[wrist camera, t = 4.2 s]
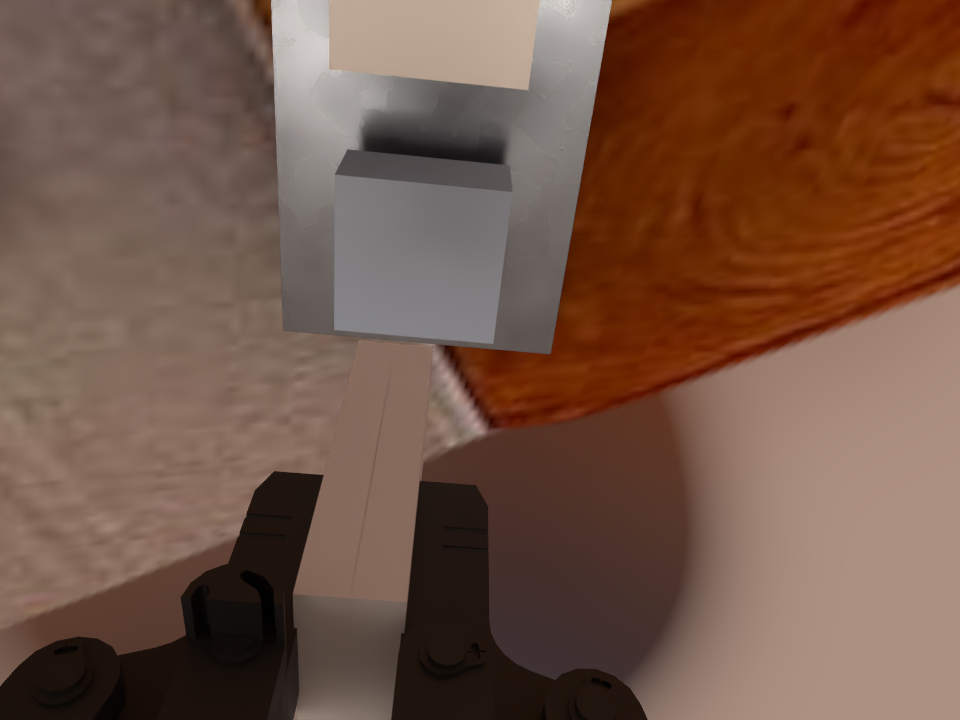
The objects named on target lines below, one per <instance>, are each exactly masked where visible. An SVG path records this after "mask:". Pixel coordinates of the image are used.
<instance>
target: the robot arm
mask: <svg viewBox="0 0 960 720" xmlns="http://www.w3.org/2000/svg"><path fill="white" fill-rule="evenodd" d="M432 349H433V347H431V346H420V345H408V344H397V343H386V342H374V341H363V340H359V342H358V346H357V350H356V354H355V357H354V361H353V365H352V369H351V373H350V377H349V380H348V384H347V388H346V392H345V396H344V400H343V403H342V407H341V411H340V415H339V419H338V423H337V426H336V430H335V434H334V438H333V442H332V446H331V449H330V453H329V457H328V461H327V465H326V469H325V472H324V475H315V474H302V473H289V472H277V471H274V472H273V473H272V474H271V475H270V476H269V477H268V478H267V479H266V480H265V481H264V482H263V483H262V484H261V485H260V486H259V487H258V488H257V489H256V490H255V492H254V495H253V497H252V500H251V503H250V506H249V508H248V511H247V516H246V518H245V519H244V522H243V525H242V527H241V530H240V535H239V537H238V538H237V541H236V544H235V547H234V549H233V552H232V555H231V558H230V560H229V563H228V564H225V565H222V566H219V567H217V568H214V569H211V570H208V571H206V572H205V573H203V574H202V575H201V576H199V577H198V578H197V579H195V580H194V581H192V582H191V583H190V585H189V586H188V588H187V589H186V591H185V592H184V594H183V595H182V597H181V602H182V609H183V616H184V623H185V630H186V636H184V637H182V638H180V639H178V640H176V641H174V642H172V643H169V644H166V645H162V646H159V647H156V648H152V649H147V650H142V651H137V652H132V653H128V654H123V655H118V656H117V654H116V652H115V651H114V649H113V647H112V646H110V645H108V644H106V643H104V642H102V641H101V640H99V639H95V638H86V637H75V638H70V639H65V640H60V641H56V642H54V643H52V644H50V645H48V646H45V647H43V648H42V649H39V650H37V651H36V652H34V653H33V654H32V655H31V656H29V657H28V658H27V659H26V660H25V661H24V662H22V663H21V664H20V665H19V666H18V667H17V668H16V669H15V670H14V671H13V672H12V674H11V675H10V676H9V677H8V678H7V679H6V680H5V682H4V683H3V684H2V685H1V686H0V720H293V719H294V714H295V709H296V705H297V719H306V720H647V718H646V715H645V713H644V711H643V708H642V706H641V704H640V703H639V701H638V700H637V698H636V697H635V695H634V694H633V692H632V691H631V689H630V688H629V687H628V686H626V685H625V684H624V683H623V682H621V681H620V680H618V679H617V678H616V677H615V676H613V675H610V674H608V673H605V672H602V671H600V670H597V669H575V670H572V671H570V672H567V673H564V674H562V675H560V676H559V677H558V678H557V679H556V680H553V679H551V678H548V677H545V676H543V675H540V674H537V673H535V672H532V671H529V670H527V669H525V668H523V667H521V666H519V665H517V664H516V663H514V662H513V661H512V660H511V659H509V658H508V657H507V656H506V655H504V653H503V652H502V651H501V650H500V648H499V647H498V646H497V645H496V643H495V640H494V638H493V636H492V634H491V630H490V623H489V570H488V568H489V567H488V566H489V563H488V506H487V504H486V502H485V501H484V499H483V497H482V495H481V494H480V492H479V490H478V488H477V486H476V485H465V484H451V483H439V482H427V481H421V476H422V467H423V457H424V446H425V434H426V421H427V409H428V397H429V385H430V373H431V361H432Z"/></svg>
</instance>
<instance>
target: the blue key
mask: <svg viewBox="0 0 960 720" xmlns="http://www.w3.org/2000/svg"><path fill="white" fill-rule="evenodd" d="M511 200H512V182H511V172H510V166H509V165H499V164H489V163H479V162H469V161H459V160H449V159H439V158H429V157H419V156H409V155H399V154H389V153H379V152H369V151H359V150H349V149H347V151H346V153H345V155H344V157H343V159H342V161H341V163H340V165H339V167H338V169H337V171H336V173H335V228H334V330H340V331H351V332H363V333H374V334H386V335H397V336H408V337H420V338H431V339H443V340H454V341H465V342H477V343H488V344H493V341H494V334H495V326H496V318H497V310H498V302H499V294H500V286H501V279H502V271H503V263H504V255H505V247H506V239H507V231H508V224H509V216H510V208H511Z"/></svg>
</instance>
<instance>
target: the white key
mask: <svg viewBox="0 0 960 720" xmlns="http://www.w3.org/2000/svg"><path fill="white" fill-rule="evenodd" d="M539 3H540V0H329V69H331V70H341V71H350V72H360V73H369V74H379V75H388V76H398V77H407V78H417V79H426V80H436V81H445V82H455V83H465V84H474V85H484V86H493V87H503V88H512V89H522V90H528V88H529V80H530V73H531V65H532V57H533V49H534V42H535V34H536V26H537V18H538V11H539Z"/></svg>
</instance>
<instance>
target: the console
mask: <svg viewBox="0 0 960 720" xmlns="http://www.w3.org/2000/svg"><path fill="white" fill-rule="evenodd" d="M611 3H612V0H540V3H539V11H538V18H537V26H536V34H535V42H534V49H533V57H532V65H531V73H530V80H529V88H528V90H522V89H512V88H503V87H493V86H484V85H474V84H465V83H455V82H445V81H436V80H426V79H417V78H407V77H398V76H388V75H379V74H369V73H360V72H350V71H341V70H331V69H329V0H271V11H272V39H273V66H274V93H275V120H276V148H277V175H278V202H279V229H280V256H281V284H282V311H283V331H292V332H303V333H315V334H326V335H338V336H349V337H361V338H372V339H383V340H395V341H406V342H418V343H429V344H441V345H452V346H464V347H475V348H486V349H498V350H509V351H521V352H532V353H544V354H551V348H552V343H553V337H554V331H555V325H556V320H557V314H558V308H559V302H560V297H561V291H562V285H563V279H564V274H565V268H566V262H567V256H568V251H569V245H570V239H571V233H572V227H573V222H574V216H575V210H576V204H577V199H578V193H579V187H580V181H581V176H582V170H583V164H584V158H585V153H586V147H587V141H588V135H589V129H590V124H591V118H592V112H593V106H594V101H595V95H596V89H597V83H598V78H599V72H600V66H601V60H602V55H603V49H604V43H605V37H606V32H607V26H608V20H609V14H610V8H611ZM347 149H349V150H359V151H369V152H379V153H389V154H399V155H409V156H419V157H429V158H439V159H449V160H459V161H469V162H479V163H489V164H499V165H509V166H510V172H511V182H512V200H511V208H510V216H509V224H508V231H507V239H506V247H505V255H504V263H503V271H502V279H501V286H500V294H499V302H498V310H497V318H496V326H495V334H494V341H493V344H488V343H477V342H465V341H454V340H443V339H431V338H420V337H408V336H397V335H386V334H374V333H363V332H351V331H340V330H334V228H335V173H336V171H337V169H338V167H339V165H340V163H341V161H342V159H343V157H344V155H345V153H346V151H347Z"/></svg>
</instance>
